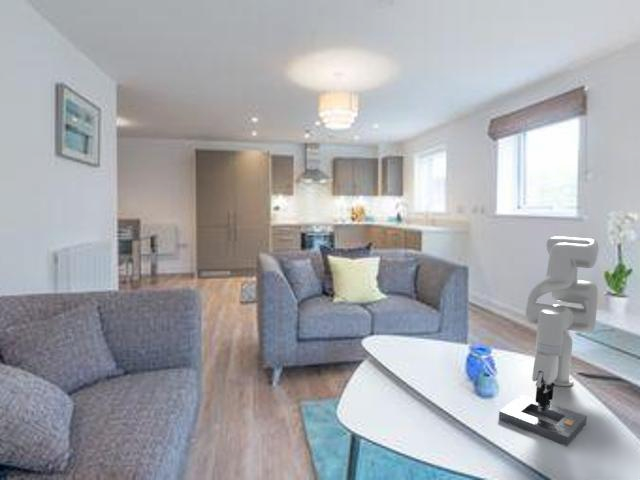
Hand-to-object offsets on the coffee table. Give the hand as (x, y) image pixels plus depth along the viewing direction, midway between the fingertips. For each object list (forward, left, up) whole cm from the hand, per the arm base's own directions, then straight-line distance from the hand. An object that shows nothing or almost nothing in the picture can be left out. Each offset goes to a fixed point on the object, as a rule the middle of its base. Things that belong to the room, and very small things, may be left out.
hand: (544, 400), depth 145 cm
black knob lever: (+1, 0, -3) cm, 3 cm away
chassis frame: (0, 0, -8) cm, 8 cm away
